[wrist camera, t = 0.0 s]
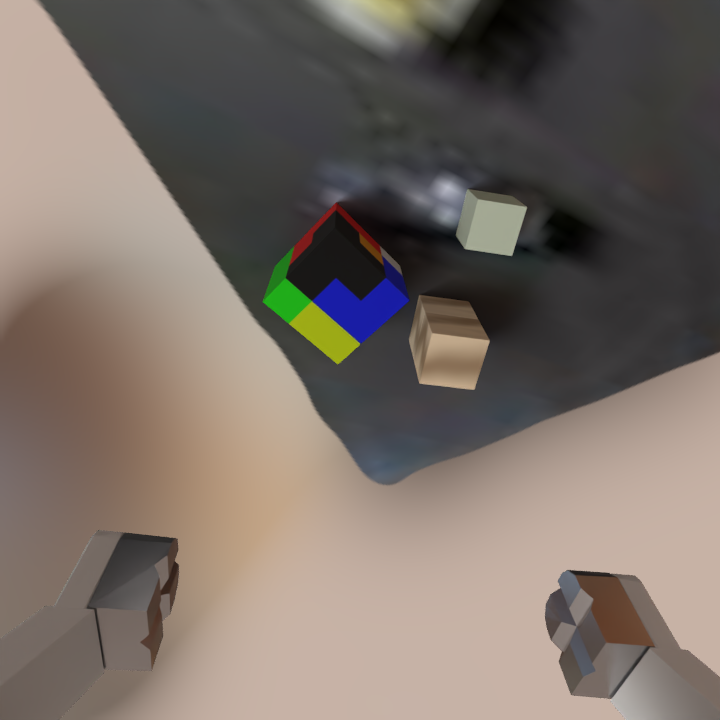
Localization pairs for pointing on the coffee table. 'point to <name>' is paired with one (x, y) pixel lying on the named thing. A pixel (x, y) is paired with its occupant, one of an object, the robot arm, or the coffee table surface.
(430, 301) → the tower base
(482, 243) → the sage cube
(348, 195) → the coffee table surface
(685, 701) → the robot arm
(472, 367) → the tower mid
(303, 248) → the puzzle toy
